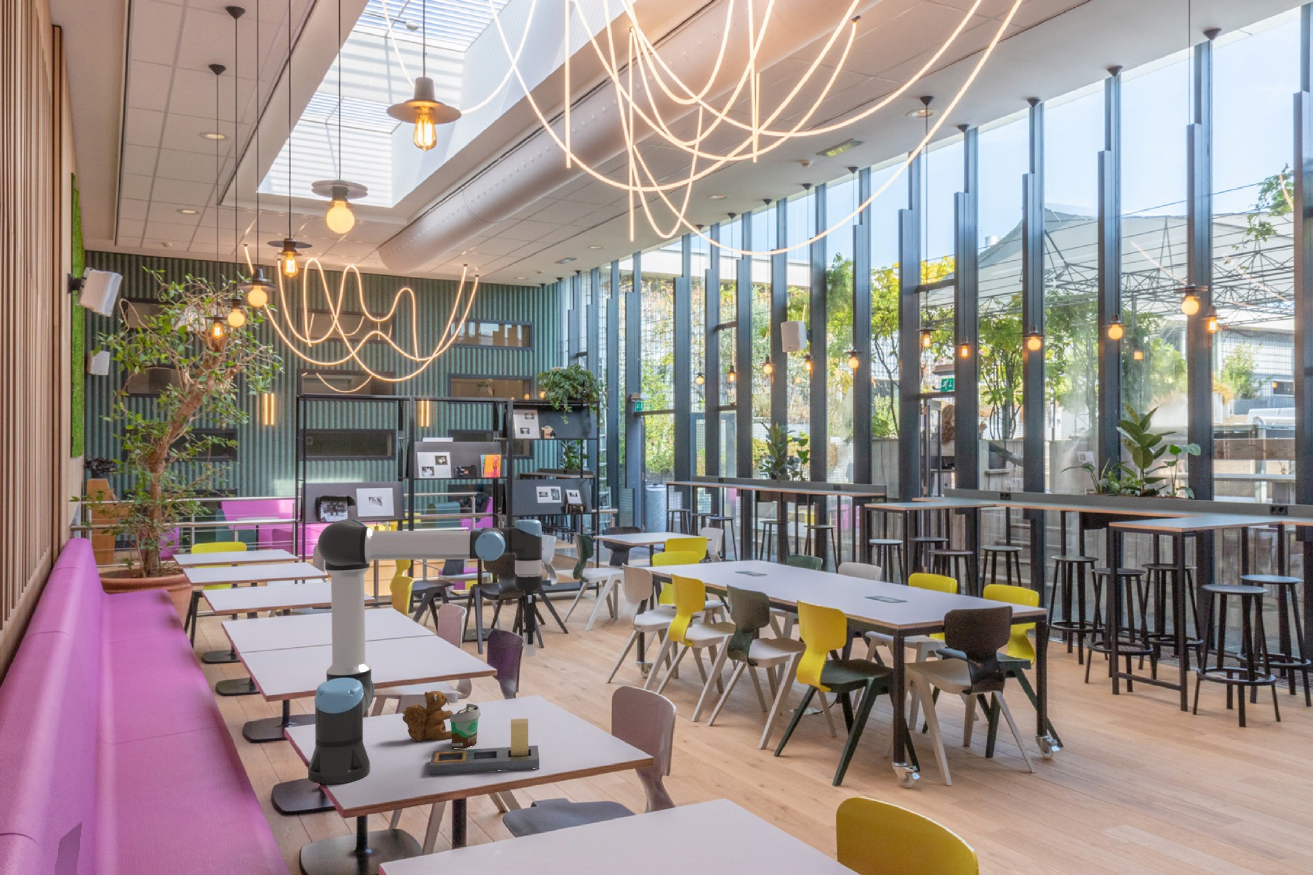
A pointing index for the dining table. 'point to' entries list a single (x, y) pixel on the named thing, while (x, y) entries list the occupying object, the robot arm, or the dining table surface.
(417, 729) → the stuffed squirrel
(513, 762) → the grey slotted tray
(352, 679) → the robot arm
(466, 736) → the food container
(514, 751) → the brass post
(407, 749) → the dining table surface
